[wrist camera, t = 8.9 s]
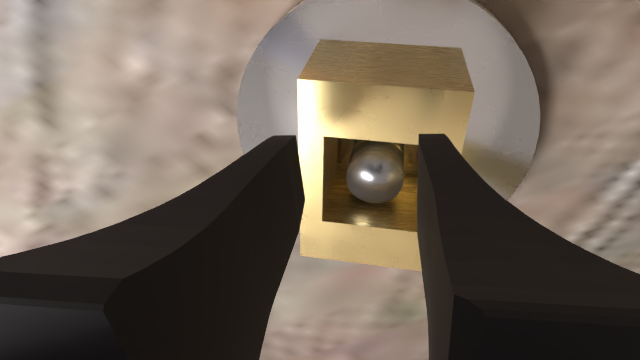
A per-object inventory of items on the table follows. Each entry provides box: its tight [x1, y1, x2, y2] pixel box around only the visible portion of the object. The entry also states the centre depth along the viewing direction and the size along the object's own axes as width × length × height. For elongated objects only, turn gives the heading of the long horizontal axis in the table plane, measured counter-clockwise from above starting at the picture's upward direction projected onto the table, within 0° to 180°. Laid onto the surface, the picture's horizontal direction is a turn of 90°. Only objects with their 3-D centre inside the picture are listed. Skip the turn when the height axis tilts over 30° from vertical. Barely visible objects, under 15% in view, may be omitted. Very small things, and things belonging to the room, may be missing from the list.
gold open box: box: [297, 39, 475, 271], centre depth 16 cm, size 5×7×4 cm
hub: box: [237, 0, 540, 203], centre depth 17 cm, size 12×12×4 cm
